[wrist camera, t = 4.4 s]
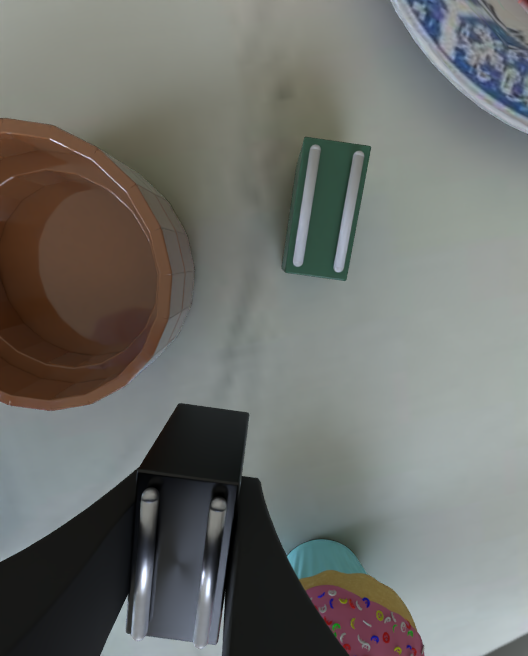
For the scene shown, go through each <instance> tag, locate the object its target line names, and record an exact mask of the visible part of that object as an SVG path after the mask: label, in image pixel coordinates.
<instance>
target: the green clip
mask: <svg viewBox="0 0 528 656" xmlns="http://www.w3.org/2000/svg"><path fill="white" fill-rule="evenodd" d="M370 151H371V146H366V145H360V144H353V143H346V142H339V141H332V140H325V139H318V138H311V137H305V138H304V141H303V145H302V148H301V152H300V155H299V159H298V162H297V166H296V173H295V180H294V187H293V194H292V201H291V207H290V214H289V221H288V228H287V235H286V242H285V249H284V256H283V262H282V269H283V271H284V272H286V273H292V274H299V275H306V276H313V277H320V278H328V279H335V280H342V281H346V279H347V274H348V268H349V263H350V258H351V252H352V247H353V242H354V236H355V231H356V226H357V220H358V215H359V210H360V204H361V199H362V194H363V188H364V183H365V178H366V172H367V167H368V162H369V156H370Z"/></svg>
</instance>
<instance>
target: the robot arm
mask: <svg viewBox="0 0 528 656" xmlns="http://www.w3.org/2000/svg"><path fill="white" fill-rule="evenodd" d="M137 470H138V468H137V469H136V470H135V471H134V472H133V473H131V474H130V475H129V476H128V477H126V478H125V479H124V480H123V481H122V482H120V483H119V484H118V485H117V486H115V487H114V488H113V489H112V490H110V491H109V492H108V493H107V494H105V495H104V496H103V497H101V498H100V499H99V500H97V501H96V502H95V503H94V504H92V505H91V506H90V507H88V508H87V509H85V510H84V511H83V512H81V513H80V514H78V515H77V516H76V517H74V518H73V519H71V520H70V521H68V522H67V523H66V524H64V525H63V526H61V527H60V528H58V529H57V530H55V531H54V532H52V533H50V534H49V535H47V536H46V537H44V538H42V539H41V540H39V541H37V542H36V543H34V544H32V545H31V546H29V547H27V548H26V549H24V550H22V551H20V552H18V553H17V554H15V555H13V556H11V557H9V558H7V559H5V560H3V561H1V562H0V656H100V654H101V652H102V650H103V647H104V645H105V643H106V640H107V638H108V636H109V634H110V631H111V629H112V627H113V625H114V623H115V621H116V619H117V617H118V614H119V612H120V610H121V608H122V606H123V604H124V602H125V599H126V597H127V595H128V591H129V577H130V562H131V548H132V534H133V520H134V505H135V491H136V477H137ZM222 656H350V655H349V654H348V653H347V651H346V650H345V649H344V647H343V646H342V645H341V644H340V642H339V641H338V639H337V638H336V636H335V635H334V634H333V632H332V631H331V629H330V628H329V626H328V625H327V623H326V622H325V620H324V619H323V618H322V616H321V615H320V613H319V612H318V610H317V609H316V607H315V606H314V604H313V603H312V601H311V599H310V598H309V596H308V594H307V593H306V591H305V589H304V588H303V586H302V584H301V582H300V581H299V579H298V577H297V575H296V573H295V571H294V570H293V568H292V566H291V564H290V562H289V560H288V558H287V556H286V553H285V551H284V549H283V547H282V545H281V543H280V540H279V538H278V536H277V533H276V531H275V528H274V526H273V523H272V520H271V518H270V515H269V512H268V509H267V506H266V503H265V499H264V496H263V492H262V487H261V482H260V480H259V479H258V478H253V477H245V476H242V478H241V485H240V492H239V499H238V506H237V513H236V520H235V527H234V534H233V541H232V548H231V555H230V562H229V569H228V576H227V582H226V590H225V609H224V628H223V648H222Z"/></svg>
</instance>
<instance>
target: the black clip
mask: <svg viewBox="0 0 528 656" xmlns="http://www.w3.org/2000/svg"><path fill="white" fill-rule="evenodd" d="M248 422H249V413H248V412H240V411H233V410H226V409H219V408H212V407H204V406H197V405H190V404H183V403H179V404H178V405H177V407H176V409H175V410H174V412H173V413H172V415H171V417H170V418H169V420H168V421H167V423H166V425H165V426H164V428H163V429H162V431H161V433H160V434H159V436H158V438H157V439H156V441H155V442H154V444H153V446H152V447H151V449H150V450H149V452H148V454H147V455H146V457H145V459H144V460H143V462H142V463H141V465H140V467H139V468H138V470H137V477H136V491H135V505H134V520H133V534H132V548H131V562H130V577H129V591H128V605H127V619H126V633H128V634H131V636H132V638H133V639H134V640H135V641H140V640H142V639H143V638H144V637H145V636H150V637H158V638H166V639H174V640H181V641H189V642H193V643H194V646H195V647H196V648H197V649H203V648H204V647H205V646H206V645H207V644H212V645H216V644H217V642H218V638H219V631H220V624H221V617H222V610H223V603H224V596H225V589H226V582H227V576H228V569H229V562H230V555H231V548H232V541H233V534H234V527H235V520H236V513H237V506H238V499H239V492H240V485H241V478H242V470H243V462H244V454H245V446H246V438H247V430H248Z"/></svg>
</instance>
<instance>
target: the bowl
mask: <svg viewBox="0 0 528 656" xmlns="http://www.w3.org/2000/svg"><path fill="white" fill-rule="evenodd" d="M194 270H195V268H194V263H193V259H192V254H191V250H190V245H189V240H188V236H187V233H186V232H185V230H184V228H183V226H182V224H181V223H180V221H179V219H178V217H177V216H176V214H175V212H174V210H173V208H172V207H171V205H170V203H169V202H168V201H167V199H166V198H165V197H164V196H162V195H161V194H160V193H159V192H158V191H157V190H156V189H155V188H154V187H153V186H152V185H151V184H150V183H149V182H148V181H147V180H146V179H145V178H144V177H143V176H142V175H140V174H139V173H137V172H136V171H134V170H133V169H131V168H130V167H128V166H126V165H125V164H123V163H122V162H120V161H118V160H117V159H115V158H114V157H112V156H111V155H109V154H107V153H106V152H104V151H103V150H101V149H99V148H98V147H96V146H94V145H92V144H90V143H88V142H86V141H84V140H82V139H80V138H78V137H76V136H74V135H72V134H70V133H68V132H66V131H64V130H62V129H60V128H58V127H56V126H53V125H51V124H44V123H37V122H30V121H23V120H16V119H9V118H0V402H3V403H5V404H7V405H11V406H17V407H24V408H32V409H39V410H47V411H54V410H61V409H67V408H73V407H79V406H85V405H90V404H93V403H95V402H97V401H99V400H101V399H102V398H104V397H106V396H108V395H110V394H112V393H114V392H116V391H118V390H120V389H121V388H123V387H125V386H126V385H128V384H129V383H130V382H131V381H132V380H133V379H134V378H135V377H136V376H138V375H139V374H140V373H141V372H142V371H143V370H144V369H145V368H147V367H148V366H149V365H150V364H151V363H152V362H153V361H154V360H156V359H157V358H158V357H159V356H160V355H161V354H162V352H163V351H164V350H165V349H166V348H167V347H168V346H169V345H170V344H171V343H172V342H173V341H174V340H175V338H176V337H177V336H178V334H179V333H180V331H181V328H182V326H183V324H184V322H185V319H186V317H187V315H188V312H189V310H190V308H191V304H192V297H193V286H194V276H195V271H194Z"/></svg>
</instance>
